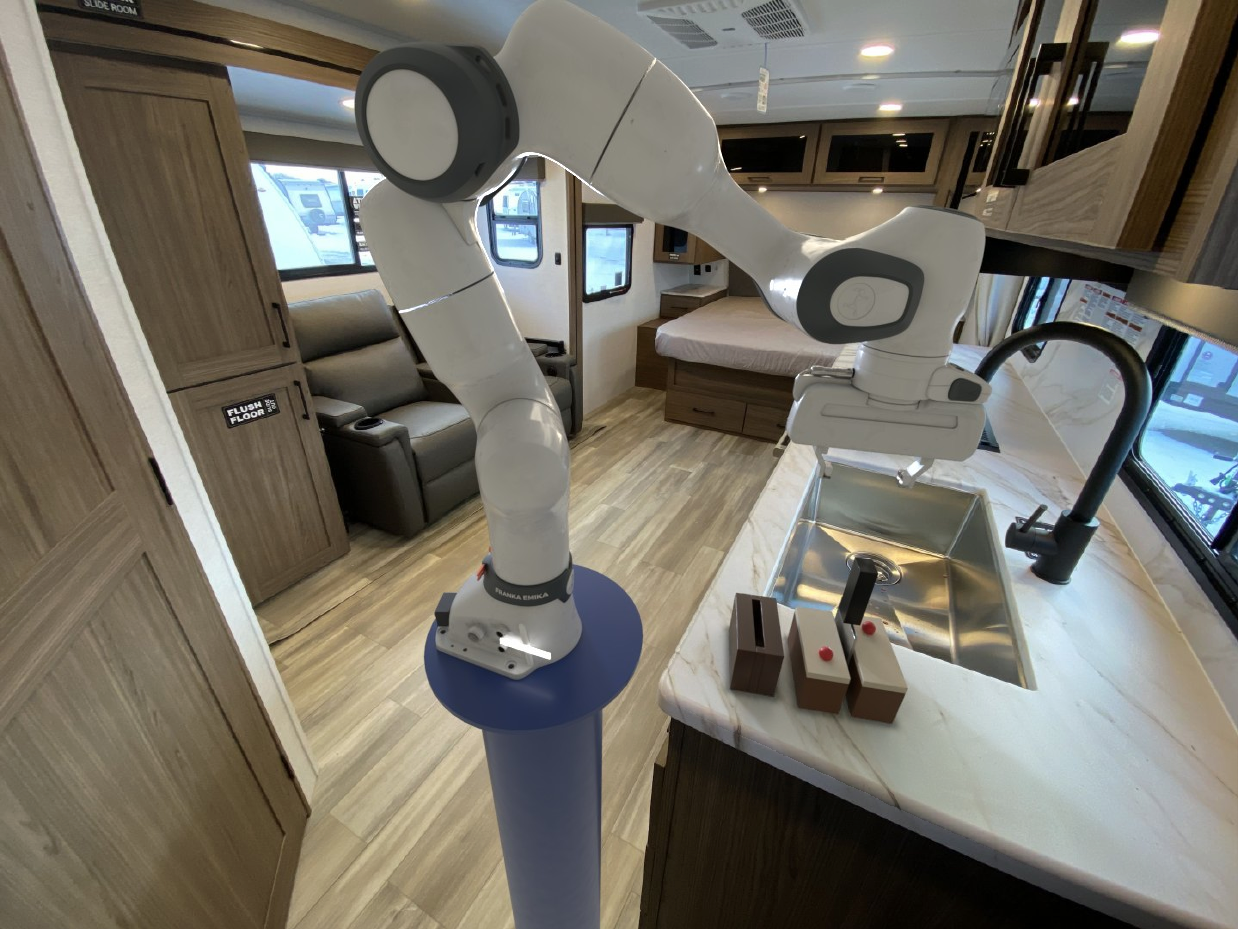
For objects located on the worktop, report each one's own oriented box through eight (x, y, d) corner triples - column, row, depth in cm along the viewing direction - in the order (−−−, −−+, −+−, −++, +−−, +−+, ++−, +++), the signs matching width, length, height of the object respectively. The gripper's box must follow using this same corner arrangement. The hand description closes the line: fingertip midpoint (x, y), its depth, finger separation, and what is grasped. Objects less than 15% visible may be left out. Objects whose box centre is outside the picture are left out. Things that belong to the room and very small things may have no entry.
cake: (797, 707, 66) (810, 664, 62) (787, 639, 77) (797, 598, 73) (892, 724, 64) (912, 680, 61) (868, 652, 75) (884, 610, 71)
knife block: (729, 689, 69) (737, 649, 65) (728, 630, 78) (735, 592, 74) (774, 697, 68) (784, 656, 64) (767, 636, 77) (776, 598, 73)
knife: (830, 688, 69) (865, 584, 60) (820, 644, 76) (850, 545, 67) (846, 691, 69) (884, 587, 60) (834, 646, 76) (867, 547, 67)
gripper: (802, 372, 53) (778, 483, 59) (1010, 390, 50) (961, 505, 56) (794, 356, 59) (773, 460, 65) (982, 372, 55) (940, 479, 62)
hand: (862, 481), depth 61 cm, fingers open, 8 cm apart
